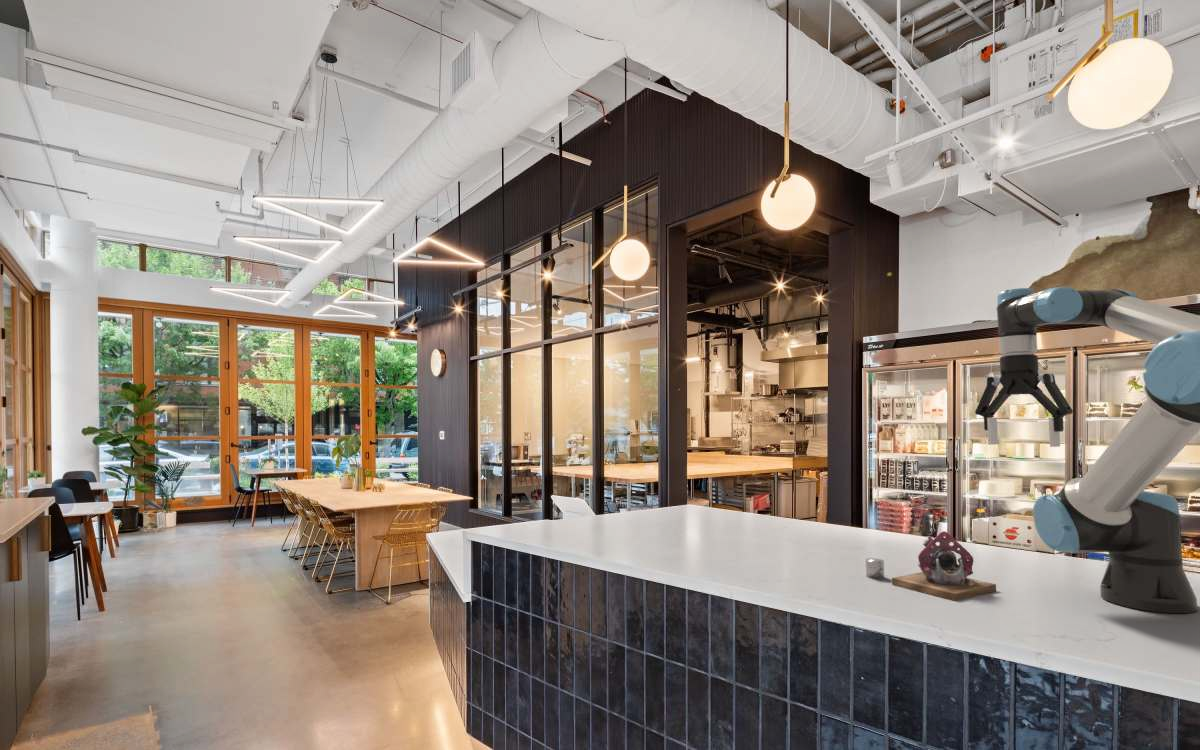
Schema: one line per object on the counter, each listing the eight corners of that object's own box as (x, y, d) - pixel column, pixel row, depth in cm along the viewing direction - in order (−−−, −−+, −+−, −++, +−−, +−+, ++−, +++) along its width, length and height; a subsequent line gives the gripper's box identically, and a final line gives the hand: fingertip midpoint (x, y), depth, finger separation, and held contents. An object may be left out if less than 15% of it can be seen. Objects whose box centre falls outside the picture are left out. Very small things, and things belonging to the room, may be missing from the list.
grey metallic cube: (887, 577, 152) (887, 560, 153) (876, 579, 150) (876, 562, 151) (873, 574, 156) (873, 557, 156) (862, 576, 154) (862, 559, 154)
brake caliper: (926, 576, 138) (916, 526, 145) (917, 596, 146) (908, 547, 154) (984, 578, 135) (971, 527, 143) (972, 599, 143) (959, 549, 151)
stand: (996, 590, 140) (995, 584, 140) (954, 600, 133) (954, 593, 133) (932, 575, 153) (932, 569, 153) (892, 584, 146) (891, 577, 146)
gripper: (1087, 350, 140) (1093, 447, 139) (975, 359, 162) (978, 443, 160) (1069, 349, 136) (1075, 448, 135) (957, 358, 158) (961, 444, 157)
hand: (1022, 445), depth 148 cm, fingers open, 13 cm apart
